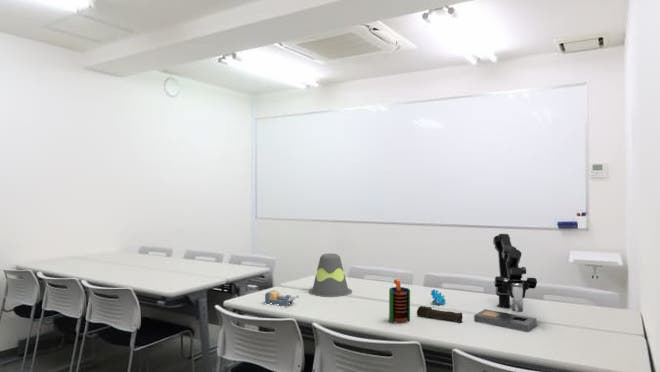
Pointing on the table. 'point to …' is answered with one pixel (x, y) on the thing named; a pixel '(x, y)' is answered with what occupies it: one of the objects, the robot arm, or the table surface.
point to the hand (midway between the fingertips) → (517, 297)
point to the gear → (438, 297)
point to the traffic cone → (330, 278)
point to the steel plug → (517, 297)
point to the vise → (279, 298)
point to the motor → (399, 303)
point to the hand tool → (438, 314)
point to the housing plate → (506, 320)
